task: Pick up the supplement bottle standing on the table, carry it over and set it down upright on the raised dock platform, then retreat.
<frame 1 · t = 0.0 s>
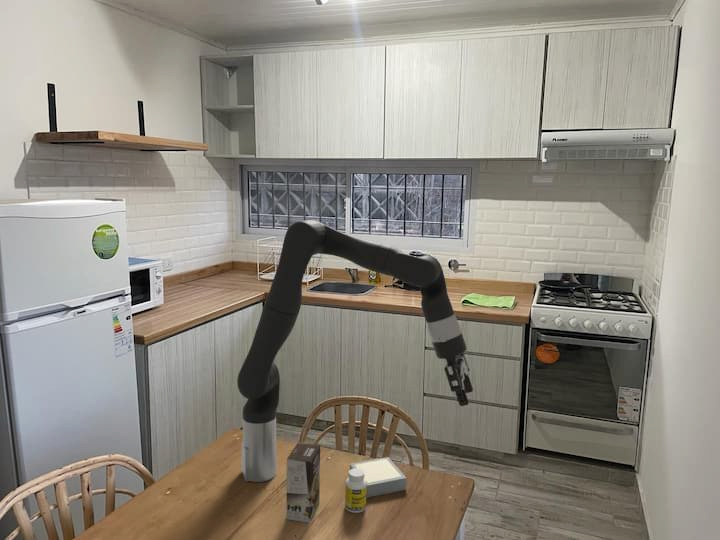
hand: (466, 398, 131), 31 cm above the table, tool tilted 20°, fingers open, 8 cm apart
supplement bottle: (355, 508, 139), on the table
coffee box: (303, 511, 137), on the table
dock: (377, 482, 151), on the table
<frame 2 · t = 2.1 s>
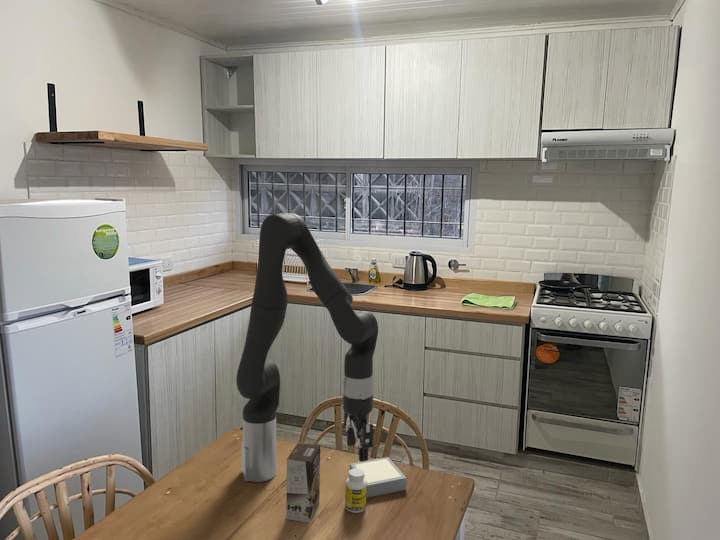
hand: (357, 452, 136), 15 cm above the table, tool pointing down, fingers open, 8 cm apart
nothing on the table moved.
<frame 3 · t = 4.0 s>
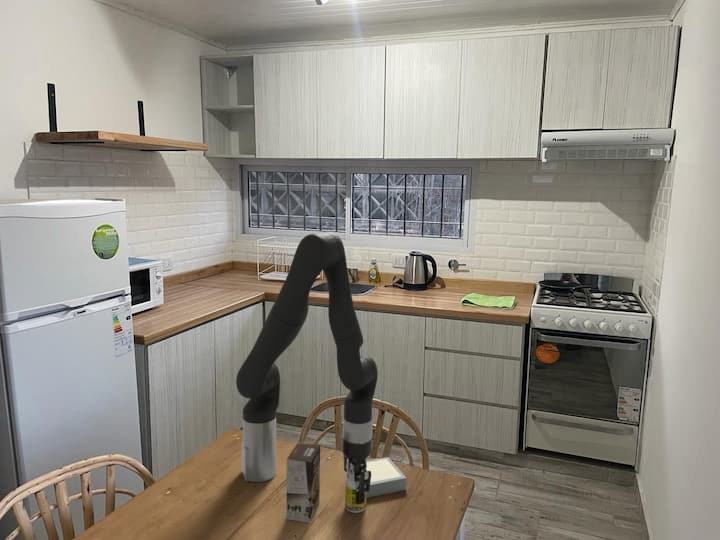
hand: (355, 496, 138), 3 cm above the table, tool pointing down, fingers closed on supplement bottle, 5 cm apart
supplement bottle: (355, 508, 139), on the table, touching gripper
everything else where it was.
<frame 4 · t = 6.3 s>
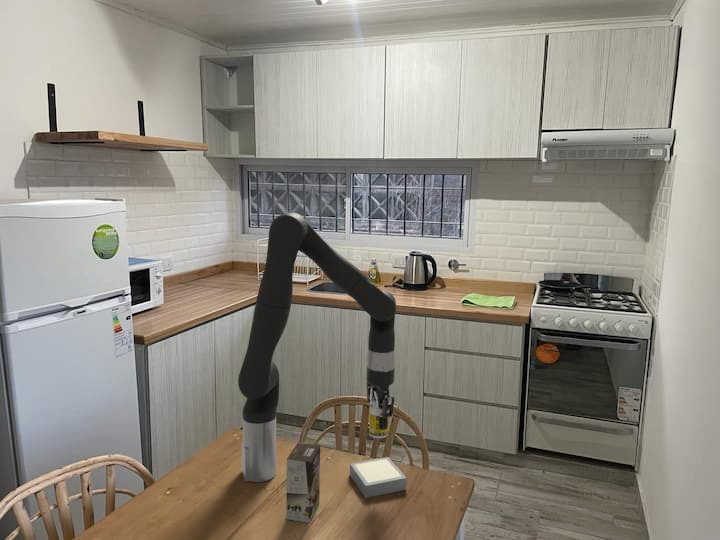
hand: (378, 424, 148), 17 cm above the table, tool pointing down, fingers closed on supplement bottle, 5 cm apart
supplement bottle: (378, 435, 148), point 14 cm above the table, touching gripper
everything else where it was.
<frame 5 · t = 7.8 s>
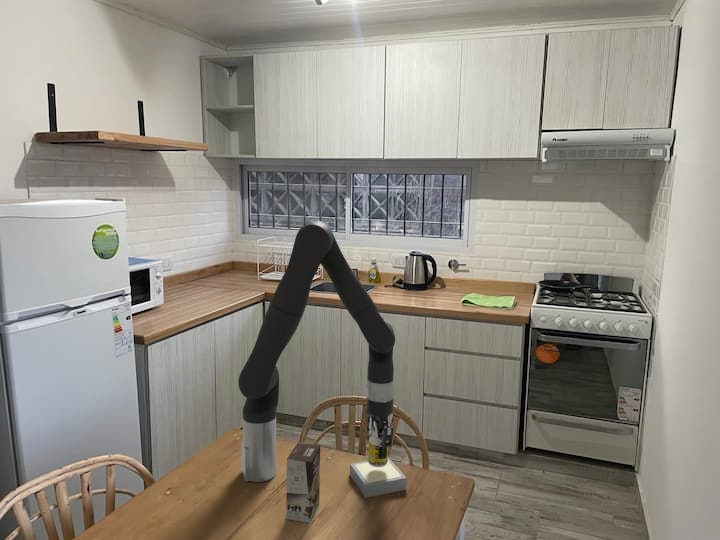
hand: (378, 453, 149), 9 cm above the table, tool pointing down, fingers closed on supplement bottle, 5 cm apart
supplement bottle: (377, 463, 150), point 6 cm above the table, touching gripper
everything else where it was.
when the fingers open (8 cm above the table, at t = 8.9 s): supplement bottle drops 1 cm, resting on dock.
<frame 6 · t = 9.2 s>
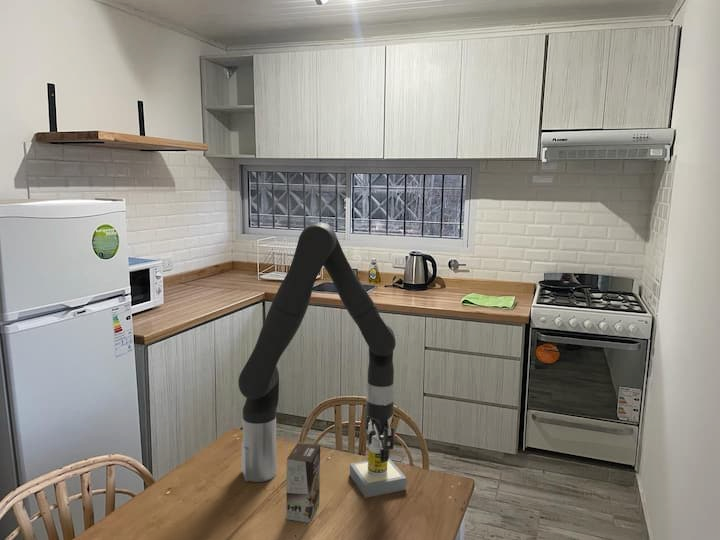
hand: (378, 453, 149), 9 cm above the table, tool pointing down, fingers open, 8 cm apart
supplement bottle: (377, 471, 150), point 3 cm above the table, touching dock
everything else where it was.
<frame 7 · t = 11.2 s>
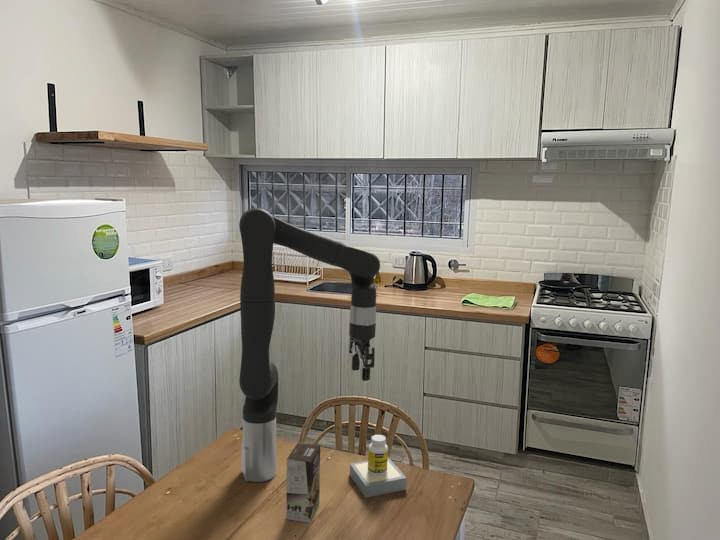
hand: (360, 375, 156), 28 cm above the table, tool pointing down, fingers open, 8 cm apart
nothing on the table moved.
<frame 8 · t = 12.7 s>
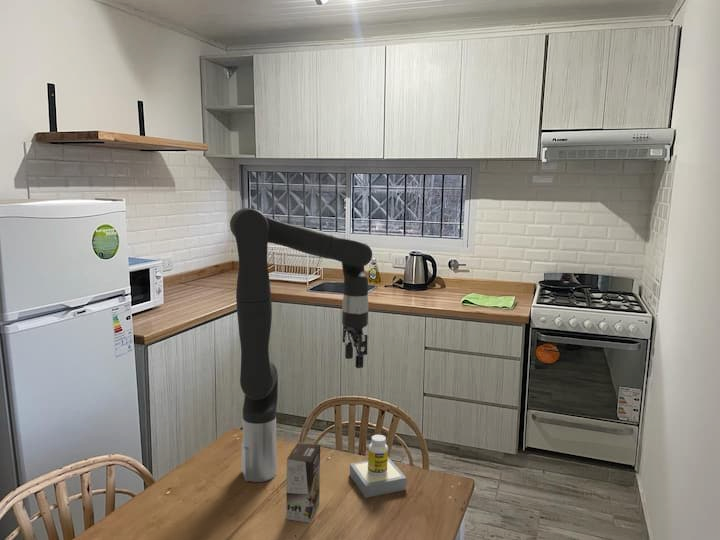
hand: (354, 362, 159), 30 cm above the table, tool pointing down, fingers open, 8 cm apart
nothing on the table moved.
at the end: supplement bottle inside the target area on the dock (0.1 cm from its centre), point 3.4 cm above the dock's base; supplement bottle tilted 0°; the gripper is holding nothing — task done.
